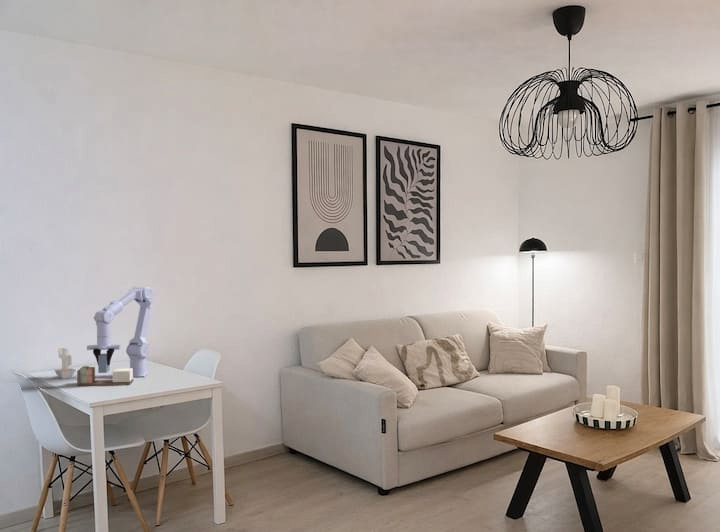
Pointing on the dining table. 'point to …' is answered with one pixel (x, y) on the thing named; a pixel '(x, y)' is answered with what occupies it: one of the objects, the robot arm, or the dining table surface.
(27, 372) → the dining table surface
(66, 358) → the figurine
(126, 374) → the bookend
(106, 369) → the tall grey-blue block
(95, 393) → the dining table surface
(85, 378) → the rack
